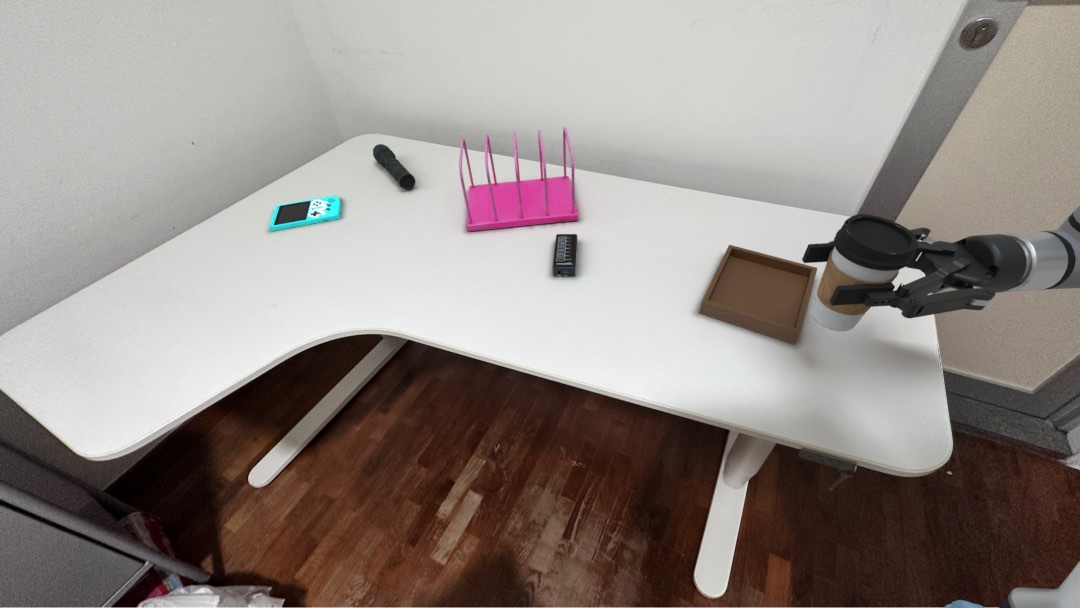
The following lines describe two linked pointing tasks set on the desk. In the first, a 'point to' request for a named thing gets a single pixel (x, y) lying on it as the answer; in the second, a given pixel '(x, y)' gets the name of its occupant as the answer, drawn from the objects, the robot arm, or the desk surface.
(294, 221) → the handheld game console
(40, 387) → the desk surface
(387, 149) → the flashlight
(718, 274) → the tray
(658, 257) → the desk surface
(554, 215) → the file sorter
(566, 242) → the multiport hub
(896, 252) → the coffee cup
